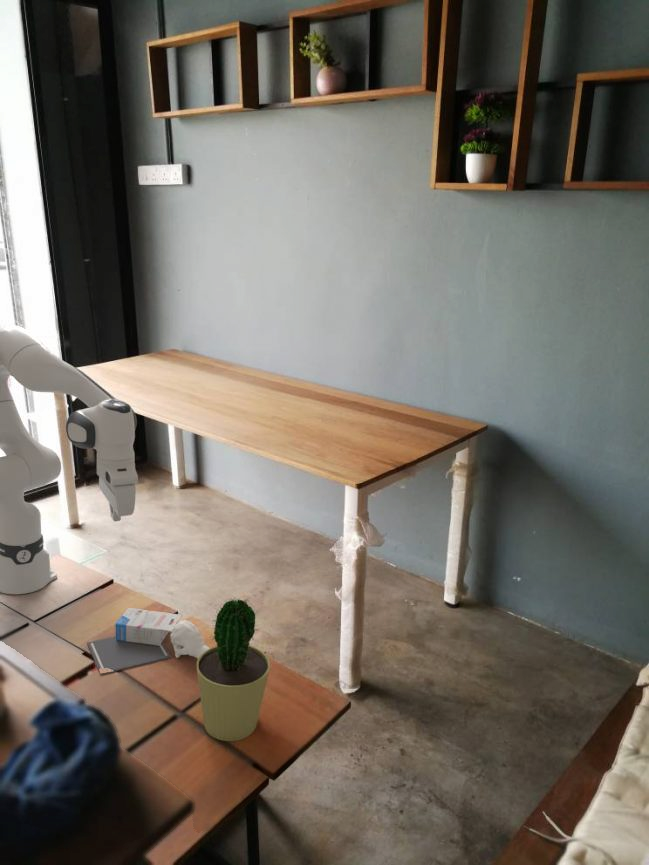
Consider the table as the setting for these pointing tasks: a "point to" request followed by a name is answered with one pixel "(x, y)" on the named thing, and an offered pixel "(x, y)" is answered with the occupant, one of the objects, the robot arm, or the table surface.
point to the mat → (125, 653)
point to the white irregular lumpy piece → (187, 640)
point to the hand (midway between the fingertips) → (115, 519)
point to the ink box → (145, 626)
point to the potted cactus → (232, 675)
